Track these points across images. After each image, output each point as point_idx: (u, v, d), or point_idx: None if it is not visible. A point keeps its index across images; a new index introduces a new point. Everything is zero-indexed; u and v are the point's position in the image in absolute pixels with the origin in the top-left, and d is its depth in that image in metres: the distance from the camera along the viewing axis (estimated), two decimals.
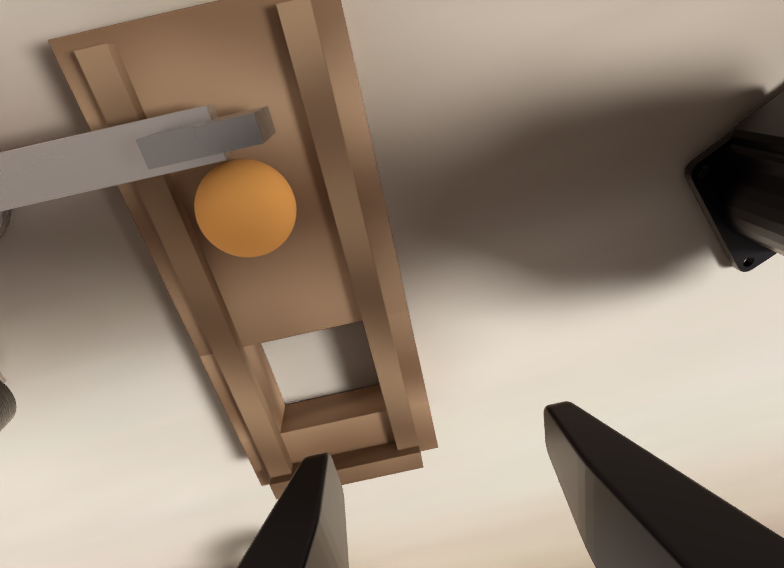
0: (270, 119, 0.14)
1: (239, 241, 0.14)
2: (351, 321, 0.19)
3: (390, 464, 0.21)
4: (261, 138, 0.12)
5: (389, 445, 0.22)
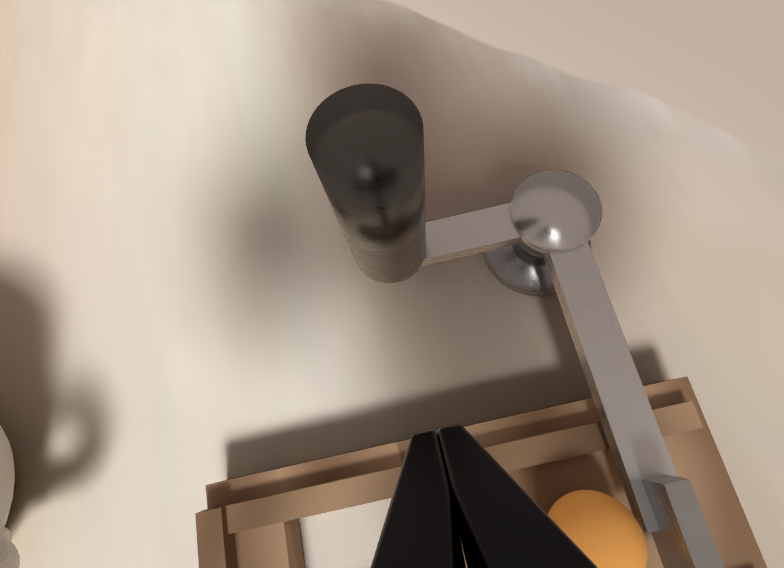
0: None
1: (589, 551, 0.14)
2: None
3: None
4: None
5: None
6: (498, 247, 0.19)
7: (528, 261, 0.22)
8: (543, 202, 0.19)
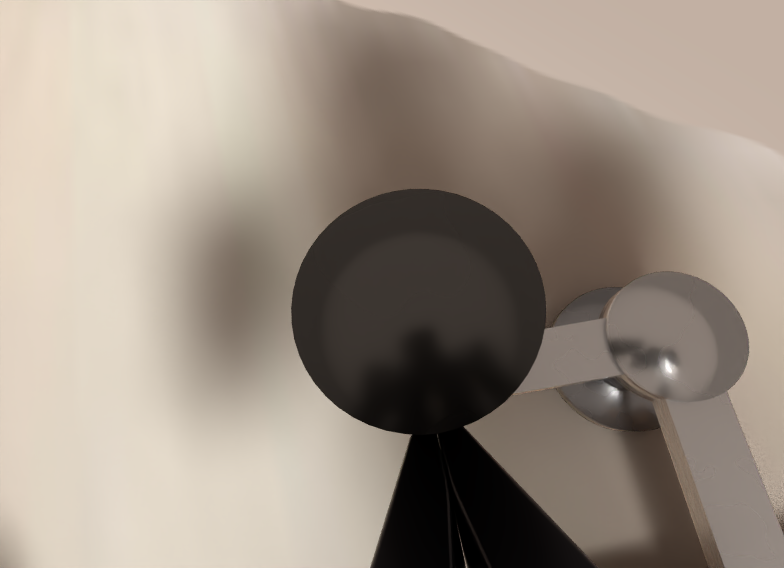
0: None
1: None
2: None
3: None
4: None
5: None
6: (584, 382, 0.13)
7: (614, 386, 0.15)
8: (657, 322, 0.13)
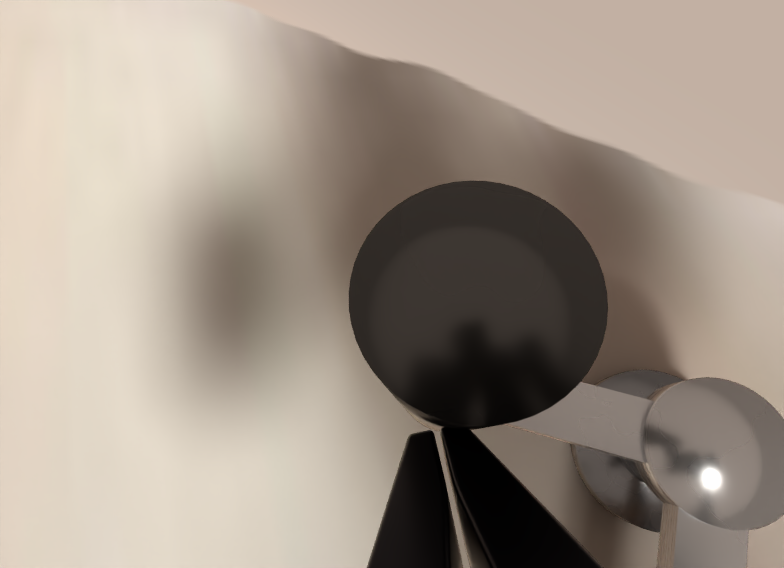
0: None
1: None
2: None
3: None
4: None
5: None
6: None
7: None
8: (706, 430, 0.12)
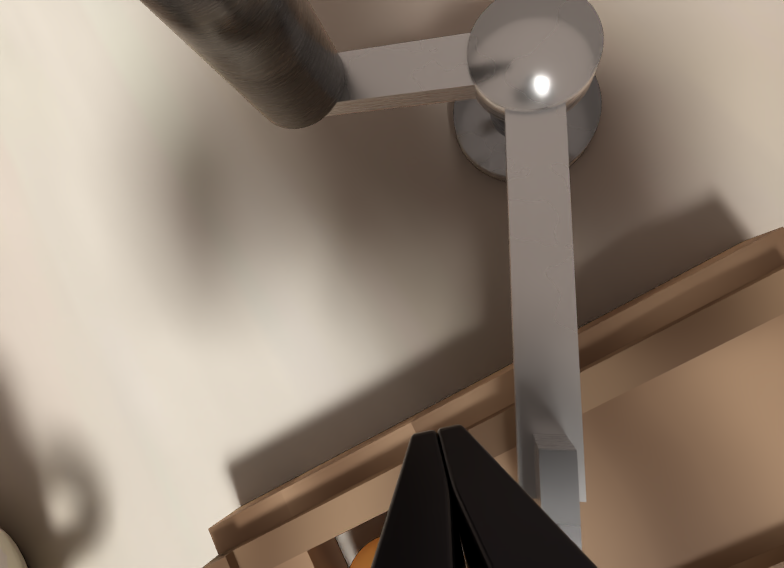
0: None
1: None
2: None
3: None
4: None
5: None
6: (444, 99, 0.14)
7: None
8: (516, 35, 0.13)
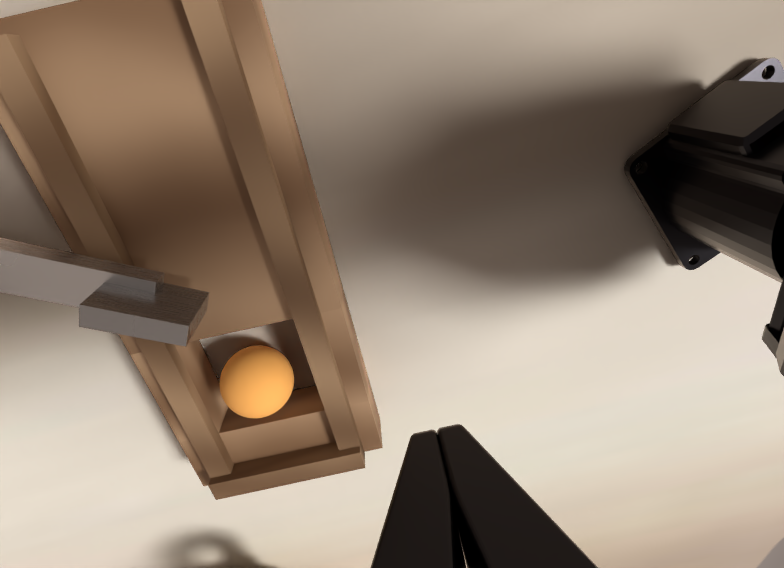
0: (205, 305, 0.17)
1: (247, 403, 0.19)
2: (284, 319, 0.19)
3: (330, 464, 0.21)
4: (186, 342, 0.15)
5: (331, 445, 0.22)
6: None
7: None
8: None
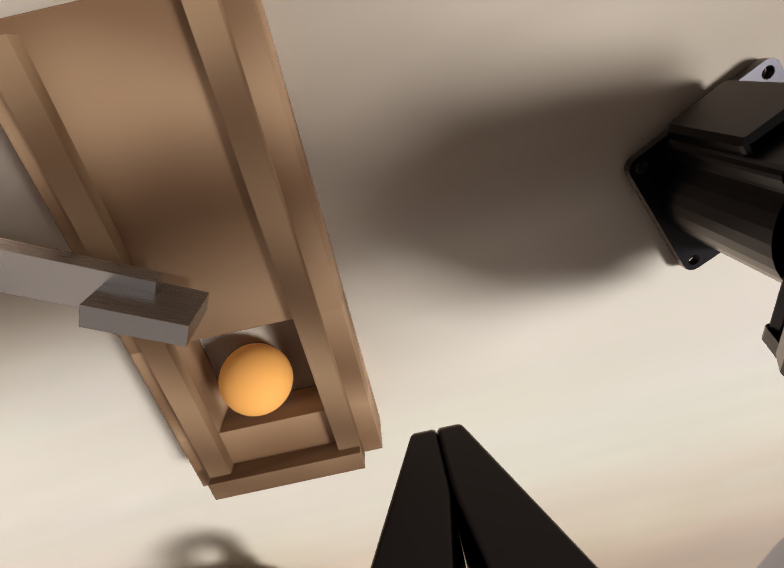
0: (205, 305, 0.17)
1: (244, 398, 0.19)
2: (284, 319, 0.19)
3: (330, 464, 0.21)
4: (186, 342, 0.15)
5: (331, 445, 0.22)
6: None
7: None
8: None
